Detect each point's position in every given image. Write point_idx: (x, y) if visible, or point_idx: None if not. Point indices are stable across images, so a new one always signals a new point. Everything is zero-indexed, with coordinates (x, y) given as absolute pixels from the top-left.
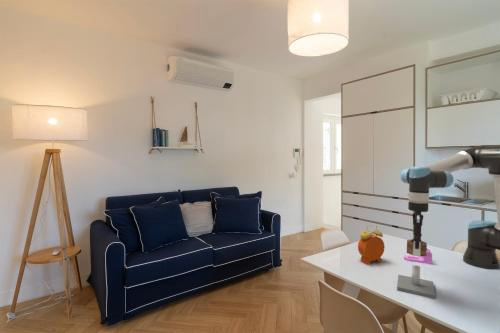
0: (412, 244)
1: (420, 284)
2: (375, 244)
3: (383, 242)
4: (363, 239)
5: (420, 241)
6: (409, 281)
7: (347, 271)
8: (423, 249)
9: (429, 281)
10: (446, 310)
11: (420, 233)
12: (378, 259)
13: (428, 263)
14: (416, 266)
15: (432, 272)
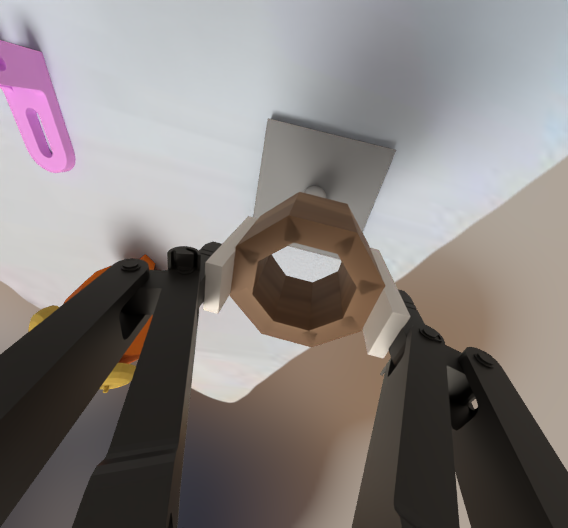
0: (358, 328)
1: (313, 181)
2: None
3: (82, 288)
4: (126, 361)
5: (477, 350)
6: None
7: (263, 346)
8: (366, 245)
9: (273, 135)
10: (478, 136)
11: (551, 457)
12: (150, 269)
13: (45, 68)
14: None
15: (141, 80)
